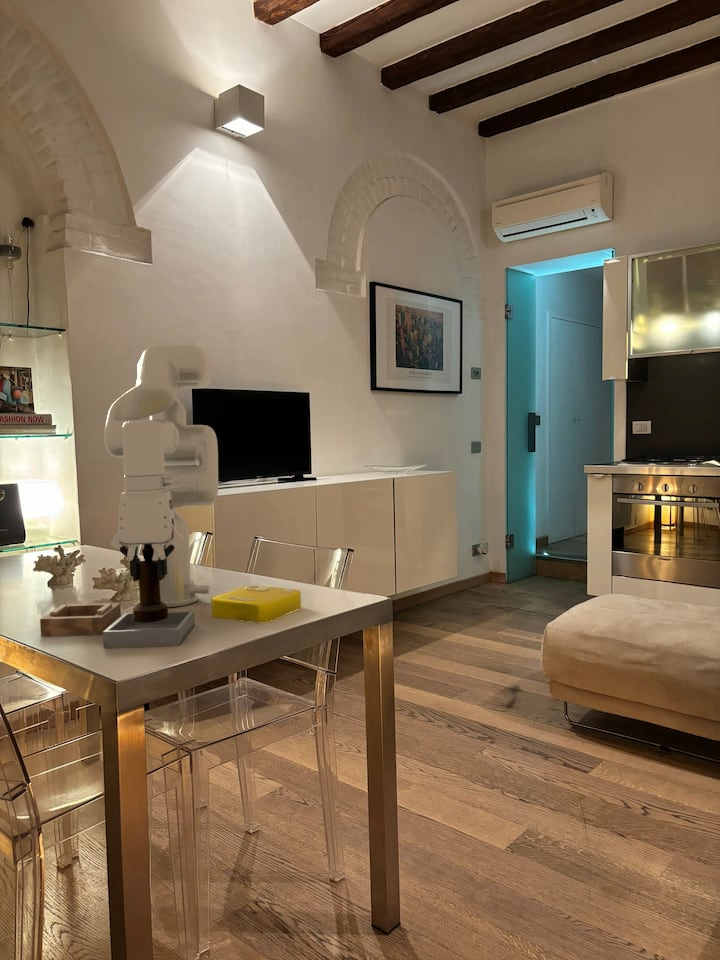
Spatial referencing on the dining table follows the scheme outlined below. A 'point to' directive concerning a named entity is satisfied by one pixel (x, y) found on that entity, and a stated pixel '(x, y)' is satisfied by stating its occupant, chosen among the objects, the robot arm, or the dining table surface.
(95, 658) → the dining table surface
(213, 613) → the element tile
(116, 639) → the gray square tray
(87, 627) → the walnut tray
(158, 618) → the wooden pepper mill
